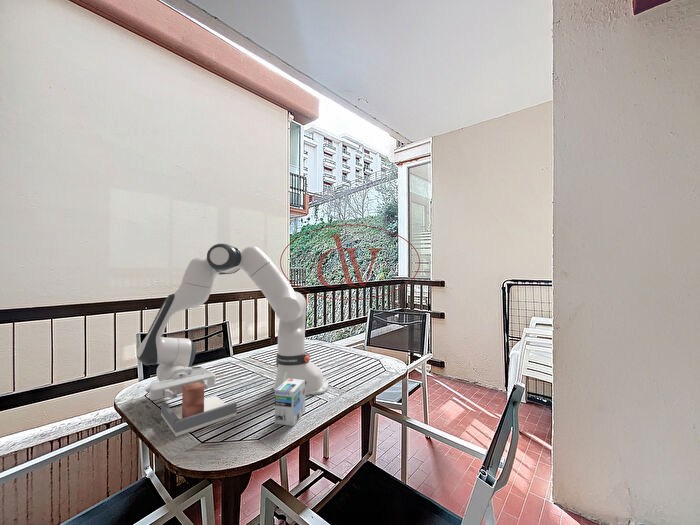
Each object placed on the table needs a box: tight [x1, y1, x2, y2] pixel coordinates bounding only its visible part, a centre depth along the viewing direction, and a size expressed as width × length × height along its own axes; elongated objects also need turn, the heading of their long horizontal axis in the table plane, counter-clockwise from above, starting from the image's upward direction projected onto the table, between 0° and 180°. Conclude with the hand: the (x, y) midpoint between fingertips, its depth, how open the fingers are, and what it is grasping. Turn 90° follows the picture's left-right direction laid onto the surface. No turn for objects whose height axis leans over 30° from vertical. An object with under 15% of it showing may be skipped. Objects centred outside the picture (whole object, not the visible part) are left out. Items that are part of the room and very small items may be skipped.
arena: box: [160, 395, 238, 437], centre depth 100 cm, size 18×18×4 cm
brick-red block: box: [181, 382, 205, 418], centre depth 96 cm, size 5×5×10 cm
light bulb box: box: [274, 379, 306, 427], centre depth 98 cm, size 11×7×11 cm, turn 168°
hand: (190, 391), depth 98 cm, fingers open, 8 cm apart
